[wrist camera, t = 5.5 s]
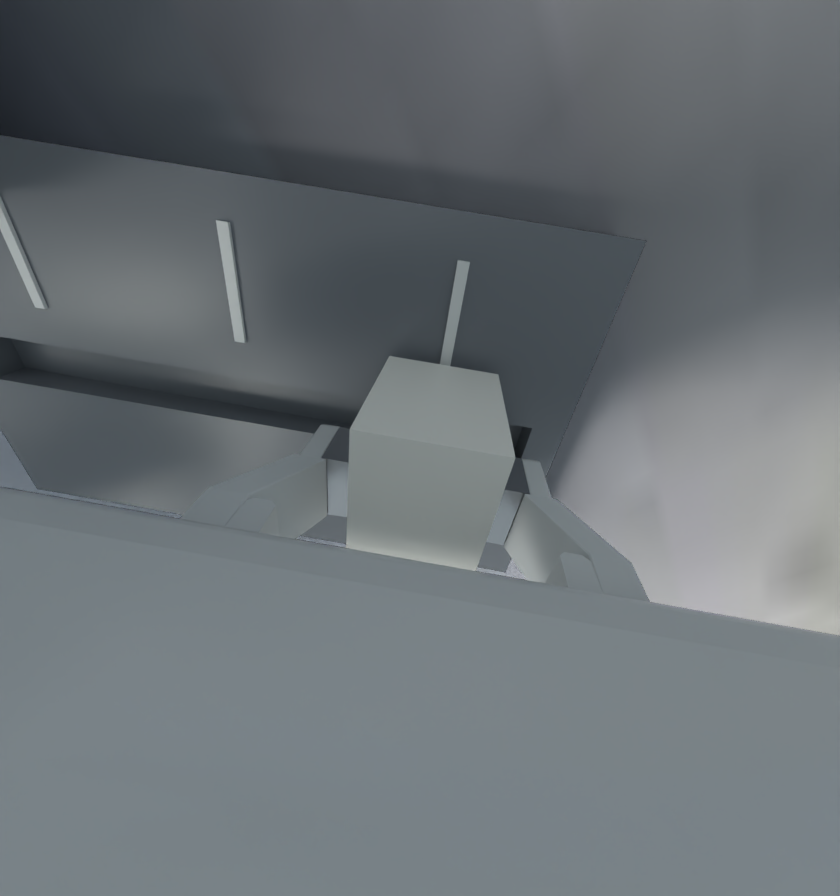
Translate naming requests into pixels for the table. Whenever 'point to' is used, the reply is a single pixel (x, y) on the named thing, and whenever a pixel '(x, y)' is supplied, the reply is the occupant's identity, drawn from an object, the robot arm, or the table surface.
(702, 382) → the table surface
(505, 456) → the fader knob
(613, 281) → the fader deck
